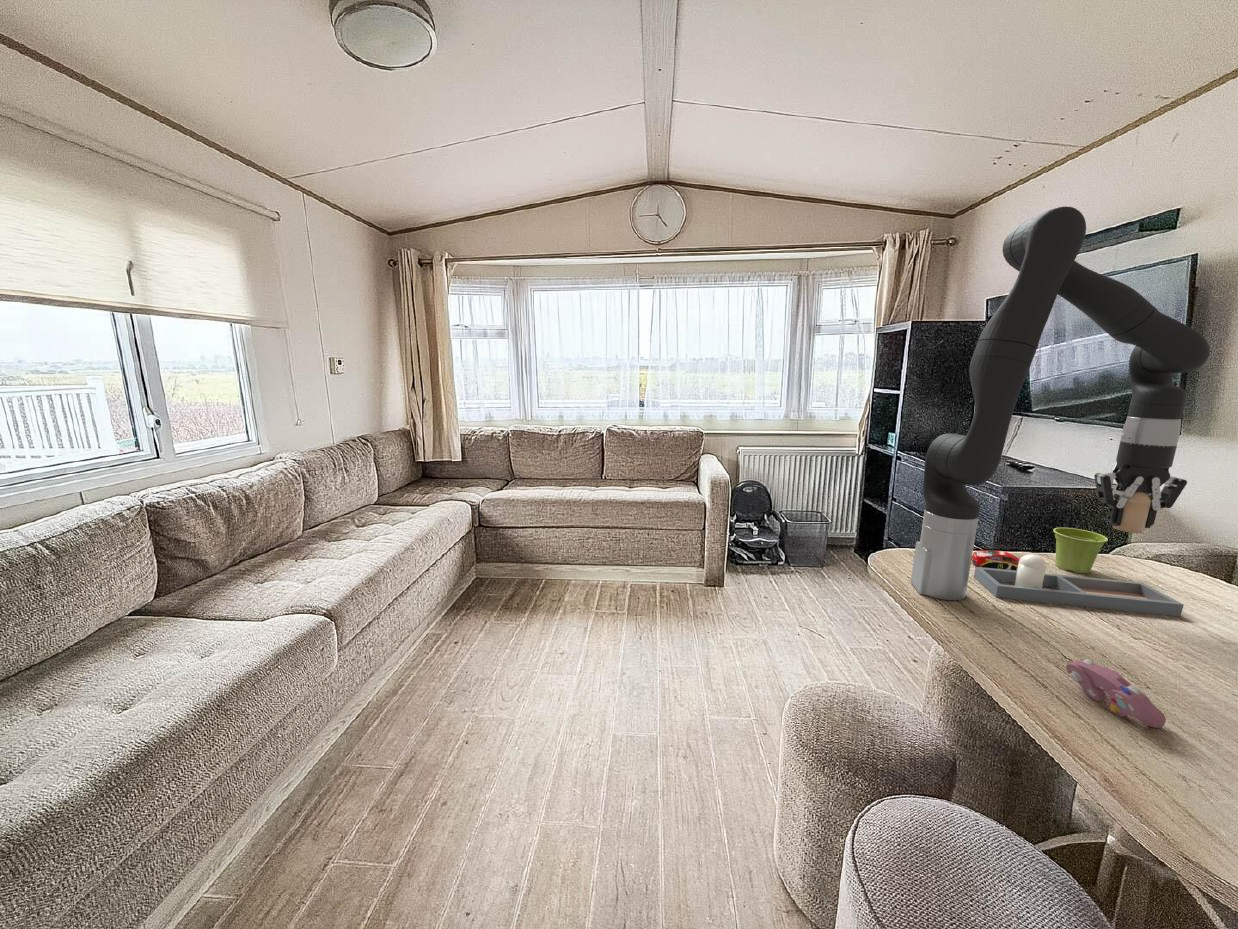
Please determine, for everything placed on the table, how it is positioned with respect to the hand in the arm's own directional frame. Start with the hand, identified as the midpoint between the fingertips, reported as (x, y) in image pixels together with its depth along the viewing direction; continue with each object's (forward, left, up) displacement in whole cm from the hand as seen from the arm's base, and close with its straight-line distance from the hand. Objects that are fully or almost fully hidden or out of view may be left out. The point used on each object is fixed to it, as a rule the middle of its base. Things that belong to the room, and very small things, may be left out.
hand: (1128, 525), depth 97 cm
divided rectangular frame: (-8, 0, -16) cm, 18 cm away
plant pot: (+2, +17, -16) cm, 24 cm away
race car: (-13, +13, -16) cm, 25 cm away
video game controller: (-24, -39, -16) cm, 49 cm away
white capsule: (-15, 0, -16) cm, 22 cm away
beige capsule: (0, 0, -1) cm, 1 cm away
